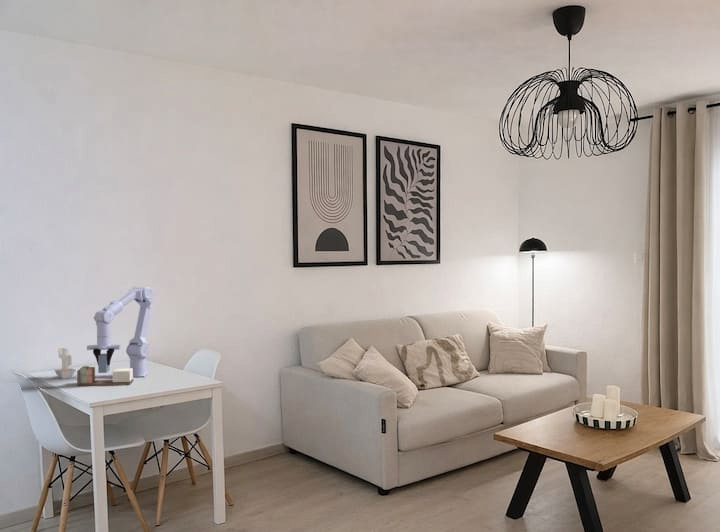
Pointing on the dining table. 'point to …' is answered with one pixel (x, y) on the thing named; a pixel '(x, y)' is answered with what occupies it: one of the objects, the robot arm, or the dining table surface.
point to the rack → (88, 378)
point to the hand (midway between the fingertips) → (103, 365)
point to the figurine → (65, 364)
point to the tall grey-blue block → (103, 363)
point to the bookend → (123, 375)
